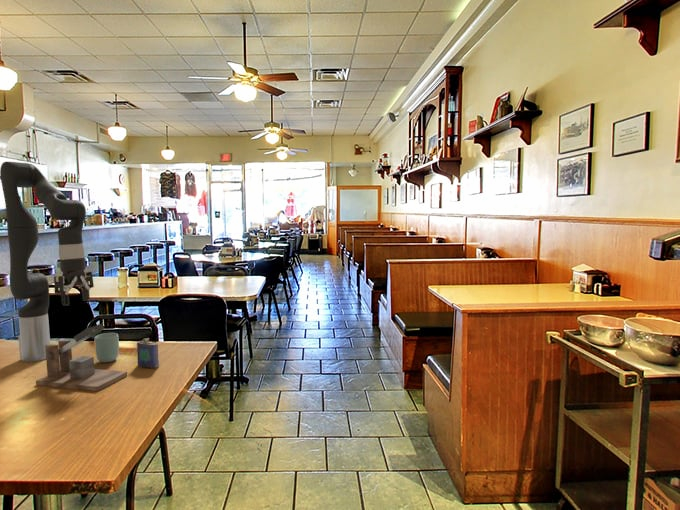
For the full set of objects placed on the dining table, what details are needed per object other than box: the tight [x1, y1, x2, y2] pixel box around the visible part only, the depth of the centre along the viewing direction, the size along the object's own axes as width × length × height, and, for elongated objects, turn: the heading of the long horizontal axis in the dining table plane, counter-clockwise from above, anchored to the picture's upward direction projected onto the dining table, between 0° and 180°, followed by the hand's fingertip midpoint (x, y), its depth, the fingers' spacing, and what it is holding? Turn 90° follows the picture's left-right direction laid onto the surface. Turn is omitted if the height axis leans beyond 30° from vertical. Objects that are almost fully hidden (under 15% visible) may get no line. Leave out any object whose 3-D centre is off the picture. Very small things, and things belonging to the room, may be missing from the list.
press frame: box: [35, 339, 128, 392], centre depth 141 cm, size 24×13×12 cm, turn 77°
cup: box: [94, 332, 120, 364], centre depth 160 cm, size 8×8×10 cm
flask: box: [136, 337, 160, 369], centre depth 154 cm, size 9×3×11 cm, turn 68°
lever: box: [58, 323, 105, 356], centre depth 141 cm, size 19×6×2 cm, turn 77°
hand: (76, 303), depth 148 cm, fingers open, 8 cm apart
